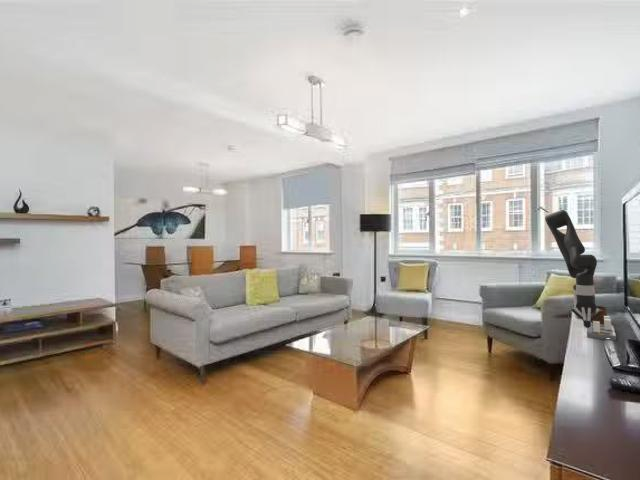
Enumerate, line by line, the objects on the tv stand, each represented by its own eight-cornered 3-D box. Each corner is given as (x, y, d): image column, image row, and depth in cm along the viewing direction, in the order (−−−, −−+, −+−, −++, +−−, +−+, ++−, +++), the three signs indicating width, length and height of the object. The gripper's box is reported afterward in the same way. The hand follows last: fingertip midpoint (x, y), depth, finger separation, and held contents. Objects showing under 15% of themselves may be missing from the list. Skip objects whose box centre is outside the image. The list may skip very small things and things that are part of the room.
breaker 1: (593, 330, 170) (593, 321, 170) (600, 331, 168) (599, 321, 168) (593, 332, 168) (593, 322, 168) (600, 332, 166) (599, 322, 166)
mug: (609, 327, 183) (608, 310, 183) (591, 325, 187) (590, 309, 188) (606, 322, 193) (605, 306, 193) (590, 321, 197) (589, 305, 197)
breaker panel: (587, 326, 186) (587, 322, 186) (613, 329, 179) (613, 325, 179) (587, 337, 167) (586, 333, 167) (616, 340, 160) (616, 335, 160)
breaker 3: (604, 328, 173) (604, 318, 173) (611, 328, 172) (610, 319, 172) (605, 329, 171) (604, 320, 171) (611, 330, 169) (610, 320, 169)
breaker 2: (604, 324, 179) (603, 315, 180) (610, 325, 178) (609, 316, 178) (604, 326, 177) (603, 316, 177) (610, 326, 176) (610, 317, 176)
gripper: (568, 294, 172) (570, 327, 172) (602, 295, 163) (604, 331, 163) (569, 292, 178) (571, 324, 177) (602, 293, 169) (604, 327, 169)
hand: (587, 327), depth 170 cm, fingers closed
